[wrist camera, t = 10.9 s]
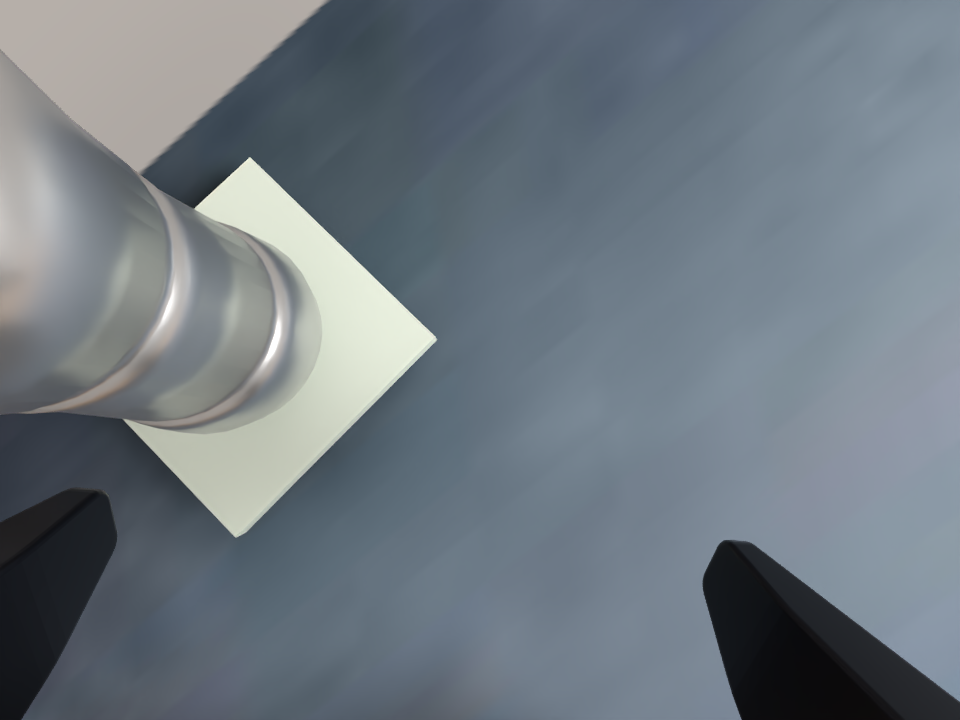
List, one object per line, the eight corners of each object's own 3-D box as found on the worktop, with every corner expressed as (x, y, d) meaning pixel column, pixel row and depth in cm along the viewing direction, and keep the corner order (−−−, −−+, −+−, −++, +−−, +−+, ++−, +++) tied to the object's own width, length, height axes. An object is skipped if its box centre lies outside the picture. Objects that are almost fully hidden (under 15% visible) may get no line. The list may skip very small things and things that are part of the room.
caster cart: (439, 346, 22) (435, 337, 19) (264, 523, 21) (235, 537, 18) (274, 186, 22) (249, 157, 20) (98, 350, 21) (49, 341, 19)
